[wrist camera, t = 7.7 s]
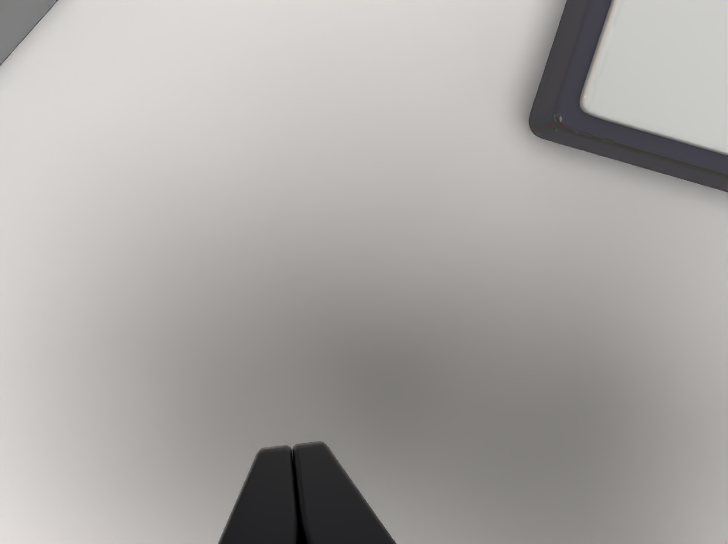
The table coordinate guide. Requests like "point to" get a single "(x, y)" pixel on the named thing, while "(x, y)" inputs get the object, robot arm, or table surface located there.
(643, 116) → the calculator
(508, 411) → the table surface
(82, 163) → the table surface
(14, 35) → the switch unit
